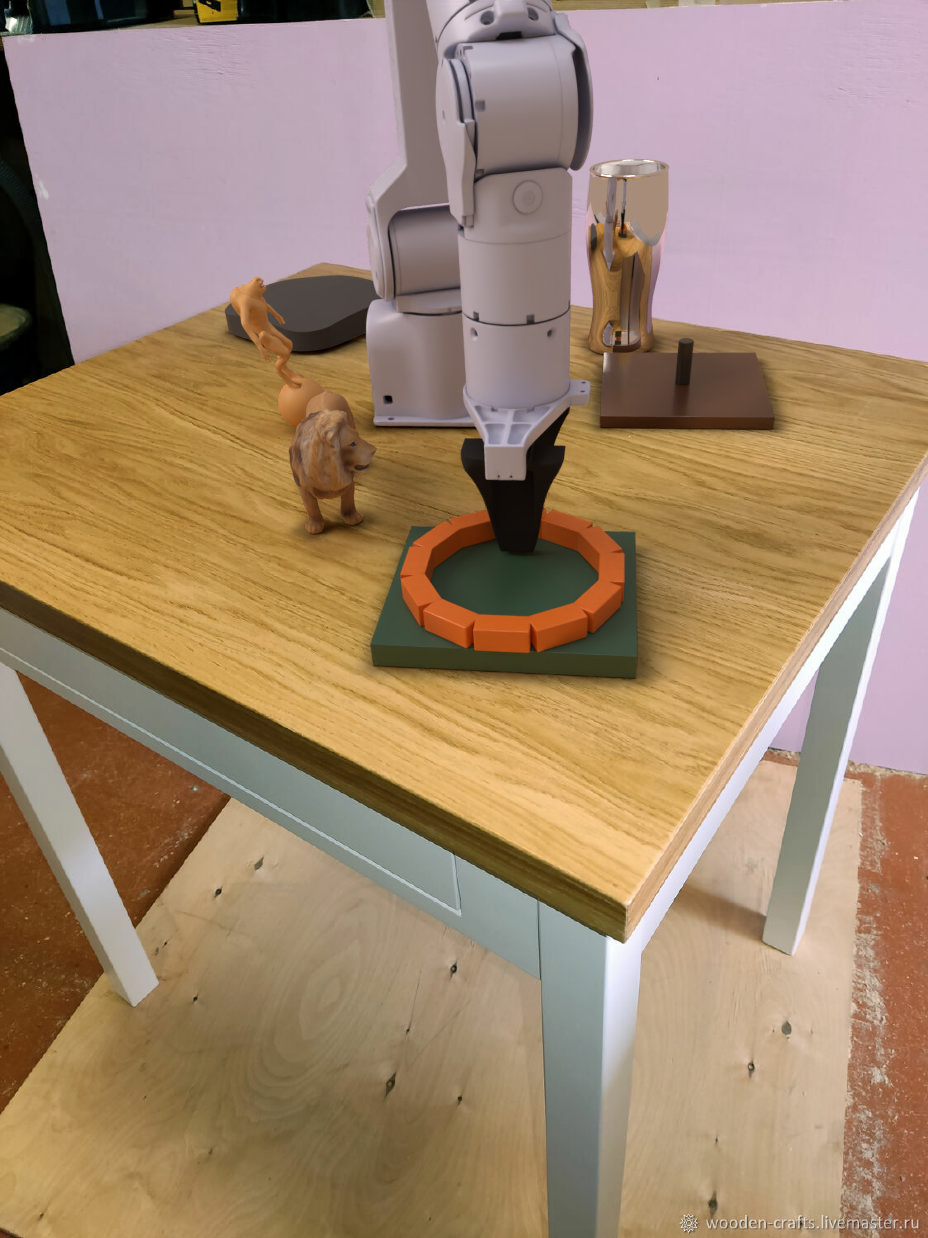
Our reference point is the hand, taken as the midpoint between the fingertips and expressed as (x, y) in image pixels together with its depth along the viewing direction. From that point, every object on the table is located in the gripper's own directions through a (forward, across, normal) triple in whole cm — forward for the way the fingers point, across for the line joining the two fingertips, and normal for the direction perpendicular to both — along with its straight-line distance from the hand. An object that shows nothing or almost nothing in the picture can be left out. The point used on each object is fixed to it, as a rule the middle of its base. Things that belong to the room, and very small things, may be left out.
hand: (520, 528), depth 56 cm
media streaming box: (+2, +42, +25) cm, 48 cm away
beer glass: (+2, +36, -6) cm, 36 cm away
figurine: (+2, +18, +20) cm, 27 cm away
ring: (0, -6, 0) cm, 6 cm away
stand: (+2, -6, 0) cm, 6 cm away
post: (+2, +24, -11) cm, 27 cm away
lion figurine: (+2, +6, +13) cm, 14 cm away
